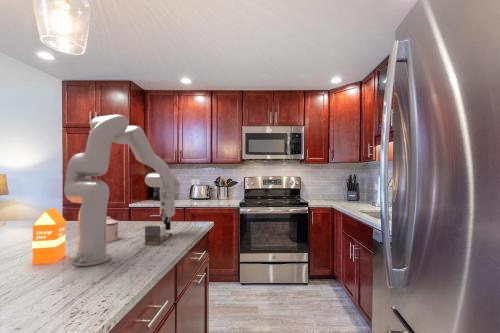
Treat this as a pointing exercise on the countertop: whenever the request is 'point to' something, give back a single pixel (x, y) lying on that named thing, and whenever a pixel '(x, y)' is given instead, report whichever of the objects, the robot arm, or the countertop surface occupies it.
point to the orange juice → (49, 237)
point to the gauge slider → (161, 229)
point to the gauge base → (154, 235)
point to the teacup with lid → (112, 230)
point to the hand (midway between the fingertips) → (167, 229)
